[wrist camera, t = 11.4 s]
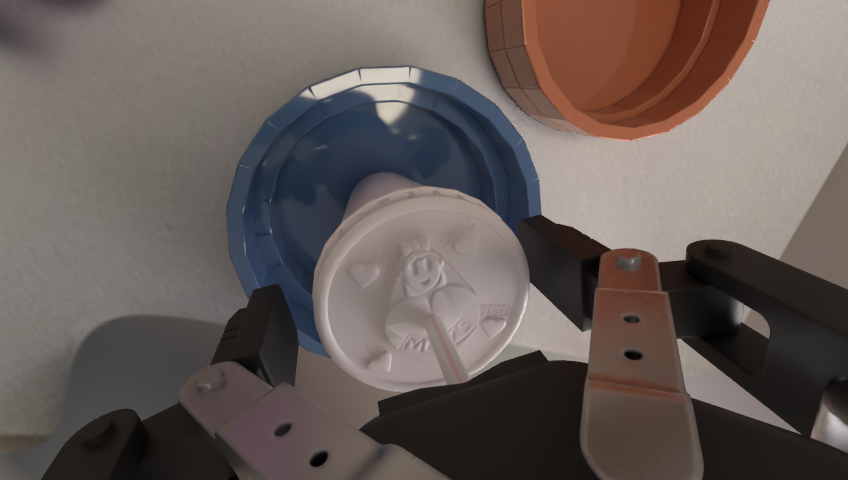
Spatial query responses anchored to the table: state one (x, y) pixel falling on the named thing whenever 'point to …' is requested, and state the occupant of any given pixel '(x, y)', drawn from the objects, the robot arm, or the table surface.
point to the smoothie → (417, 285)
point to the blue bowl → (364, 169)
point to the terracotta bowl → (619, 59)
